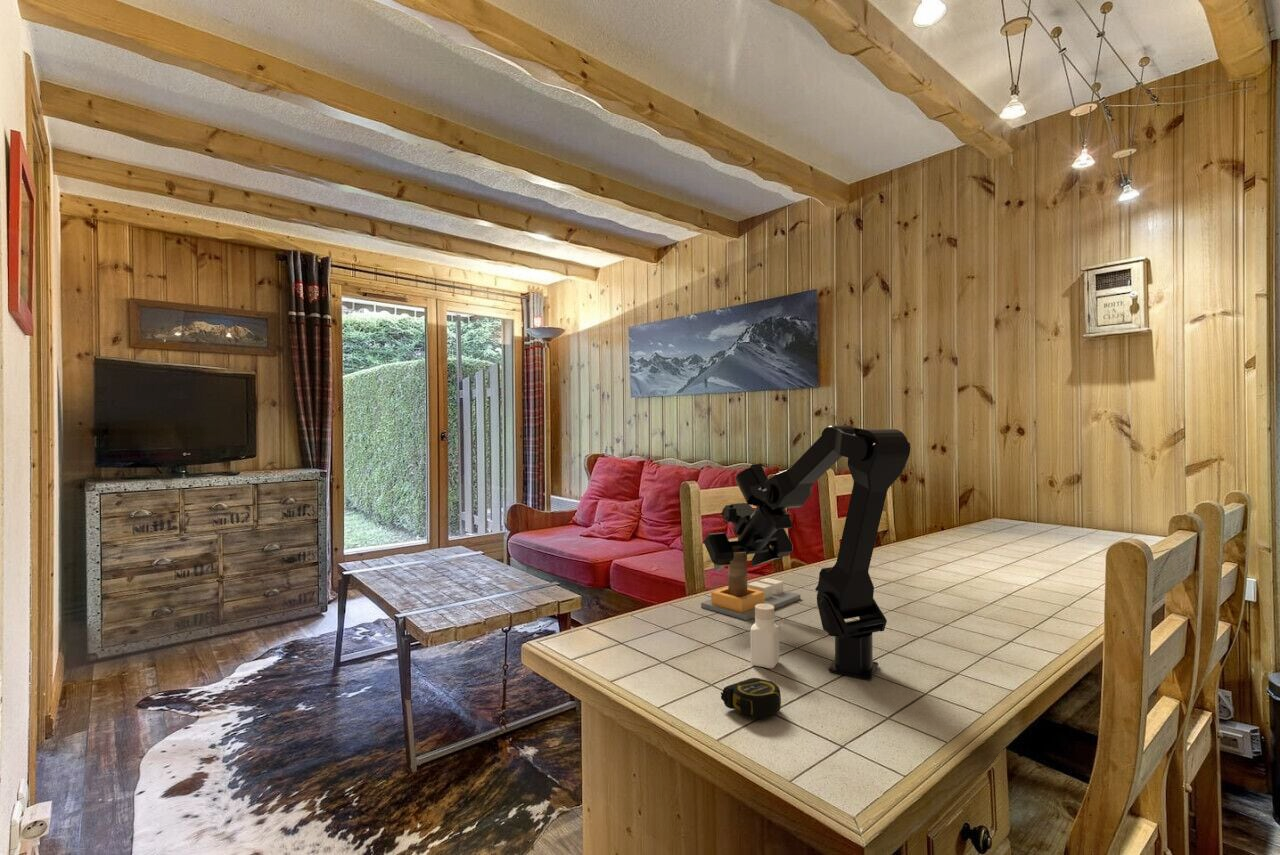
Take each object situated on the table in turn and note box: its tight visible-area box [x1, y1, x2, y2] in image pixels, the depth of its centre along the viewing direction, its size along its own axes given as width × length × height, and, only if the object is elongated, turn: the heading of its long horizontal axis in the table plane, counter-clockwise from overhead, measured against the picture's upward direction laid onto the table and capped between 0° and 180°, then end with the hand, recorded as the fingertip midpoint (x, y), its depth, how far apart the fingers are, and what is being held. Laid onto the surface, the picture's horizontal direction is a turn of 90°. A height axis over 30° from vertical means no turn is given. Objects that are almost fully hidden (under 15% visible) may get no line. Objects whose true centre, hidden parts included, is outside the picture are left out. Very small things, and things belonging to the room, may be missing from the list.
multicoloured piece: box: [700, 577, 801, 621], centre depth 130 cm, size 20×12×4 cm, turn 134°
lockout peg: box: [727, 552, 748, 597], centre depth 127 cm, size 4×4×12 cm
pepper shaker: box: [750, 604, 780, 669], centre depth 98 cm, size 4×4×10 cm
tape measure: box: [720, 677, 782, 720], centre depth 82 cm, size 7×7×4 cm
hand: (734, 566), depth 128 cm, fingers open, 9 cm apart
